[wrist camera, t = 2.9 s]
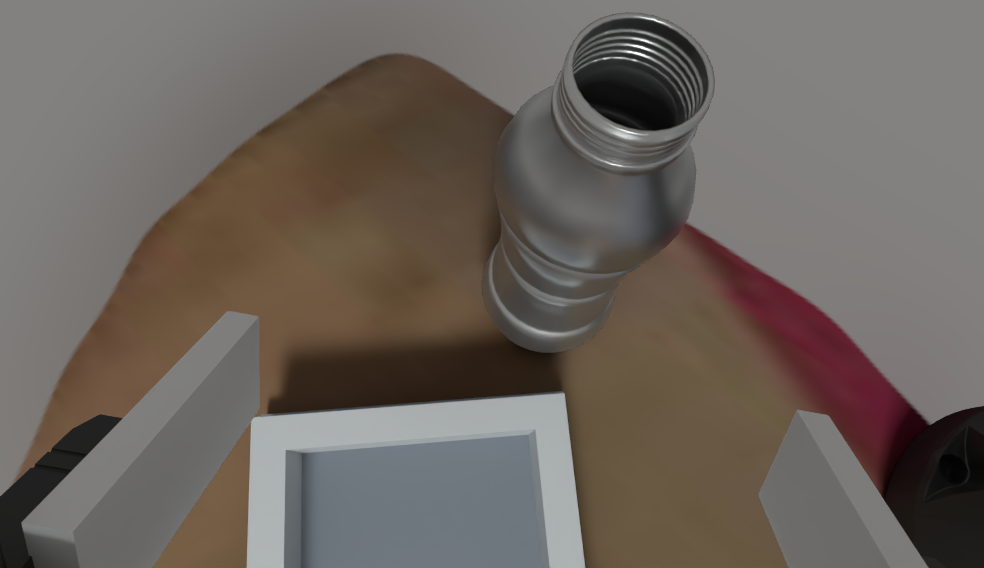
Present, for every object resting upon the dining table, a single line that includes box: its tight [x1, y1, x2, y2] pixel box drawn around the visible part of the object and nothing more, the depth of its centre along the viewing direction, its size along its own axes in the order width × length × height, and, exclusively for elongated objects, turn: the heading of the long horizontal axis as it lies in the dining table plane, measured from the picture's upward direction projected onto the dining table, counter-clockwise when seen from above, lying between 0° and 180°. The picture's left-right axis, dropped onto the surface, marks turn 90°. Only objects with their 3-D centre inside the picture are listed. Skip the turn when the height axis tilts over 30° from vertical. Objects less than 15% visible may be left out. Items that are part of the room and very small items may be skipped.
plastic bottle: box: [482, 12, 715, 353], centre depth 25 cm, size 6×7×20 cm
